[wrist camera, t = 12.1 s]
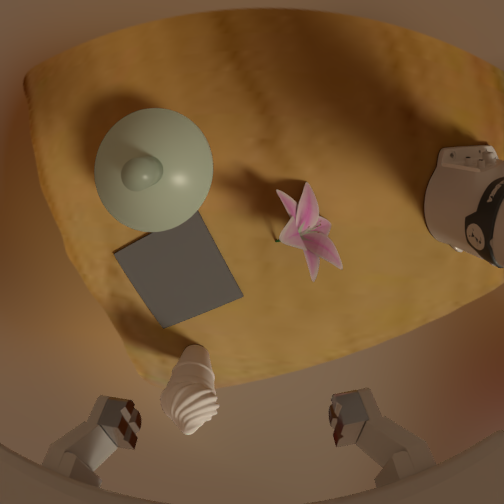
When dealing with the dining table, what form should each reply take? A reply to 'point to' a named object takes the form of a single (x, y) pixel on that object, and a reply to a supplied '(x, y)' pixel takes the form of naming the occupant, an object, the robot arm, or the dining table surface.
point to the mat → (179, 272)
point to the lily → (308, 230)
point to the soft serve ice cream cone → (190, 391)
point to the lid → (153, 169)
